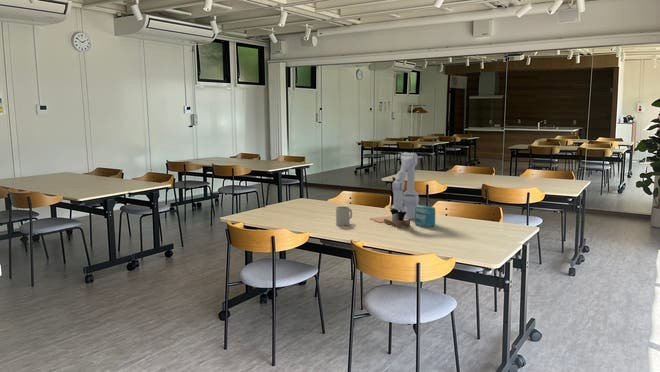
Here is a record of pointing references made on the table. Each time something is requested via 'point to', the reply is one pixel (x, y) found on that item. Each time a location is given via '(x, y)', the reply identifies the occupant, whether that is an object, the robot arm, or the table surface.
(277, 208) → the table surface
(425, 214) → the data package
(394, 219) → the blank block
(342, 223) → the mug
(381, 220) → the mat
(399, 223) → the frame
